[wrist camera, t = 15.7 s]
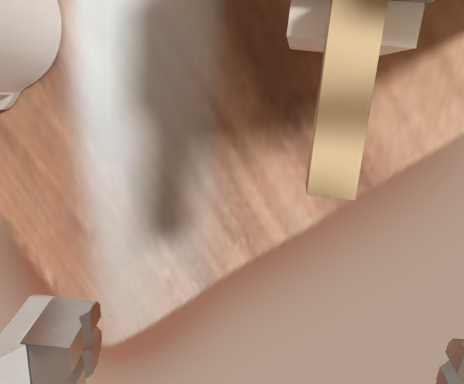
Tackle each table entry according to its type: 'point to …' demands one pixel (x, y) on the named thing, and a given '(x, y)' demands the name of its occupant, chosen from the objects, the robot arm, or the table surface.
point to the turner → (345, 95)
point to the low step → (316, 15)
